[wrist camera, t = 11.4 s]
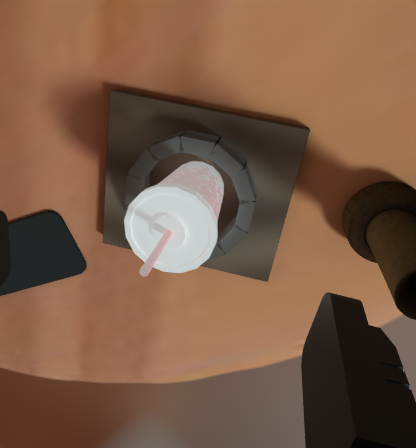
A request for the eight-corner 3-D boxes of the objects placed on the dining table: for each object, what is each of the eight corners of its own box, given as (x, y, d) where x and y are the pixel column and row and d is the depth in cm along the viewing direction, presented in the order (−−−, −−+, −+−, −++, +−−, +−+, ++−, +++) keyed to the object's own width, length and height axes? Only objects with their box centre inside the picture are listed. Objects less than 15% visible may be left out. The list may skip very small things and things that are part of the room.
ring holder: (116, 89, 31) (96, 93, 28) (308, 127, 30) (312, 137, 27) (107, 237, 37) (90, 255, 34) (267, 274, 36) (266, 297, 33)
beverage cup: (185, 137, 31) (119, 194, 18) (247, 179, 31) (224, 264, 19) (150, 194, 33) (70, 279, 21) (208, 233, 34) (164, 339, 21)
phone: (89, 272, 39) (-21, 302, 43) (92, 268, 40) (-16, 297, 44) (54, 208, 37) (-58, 246, 41) (59, 205, 37) (-52, 243, 42)
